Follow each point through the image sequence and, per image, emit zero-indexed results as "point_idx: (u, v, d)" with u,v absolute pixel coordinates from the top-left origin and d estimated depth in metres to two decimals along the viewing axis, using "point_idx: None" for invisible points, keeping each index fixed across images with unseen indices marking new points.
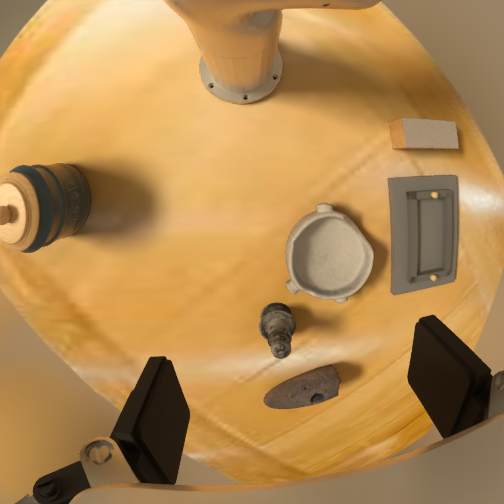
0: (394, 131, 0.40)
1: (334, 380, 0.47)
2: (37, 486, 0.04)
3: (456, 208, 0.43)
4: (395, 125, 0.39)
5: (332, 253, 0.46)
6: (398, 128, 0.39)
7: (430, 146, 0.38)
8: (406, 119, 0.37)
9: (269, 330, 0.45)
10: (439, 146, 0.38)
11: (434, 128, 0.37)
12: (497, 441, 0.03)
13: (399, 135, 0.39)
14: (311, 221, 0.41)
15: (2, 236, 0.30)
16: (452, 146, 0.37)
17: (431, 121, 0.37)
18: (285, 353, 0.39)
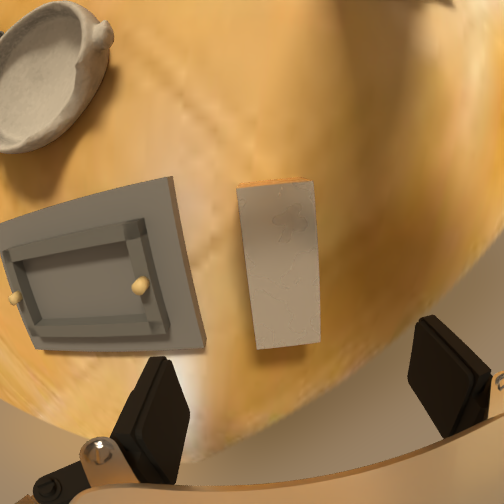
0: (277, 180, 0.20)
1: None
2: (37, 486, 0.04)
3: (139, 347, 0.24)
4: (293, 179, 0.19)
5: (41, 86, 0.18)
6: (285, 181, 0.19)
7: (248, 265, 0.18)
8: (311, 193, 0.17)
9: None
10: (252, 293, 0.19)
11: (296, 280, 0.19)
12: (497, 441, 0.03)
13: (268, 182, 0.19)
14: (78, 12, 0.13)
15: None
16: (258, 332, 0.20)
17: (314, 271, 0.19)
18: None
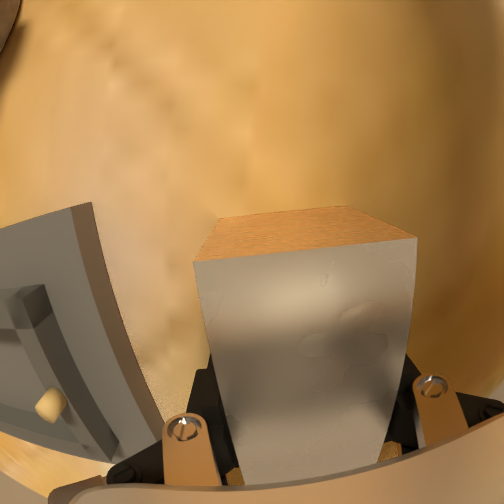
0: (305, 218, 0.09)
1: None
2: (113, 475, 0.05)
3: None
4: (343, 219, 0.08)
5: None
6: (331, 227, 0.07)
7: (236, 431, 0.07)
8: (408, 273, 0.06)
9: None
10: (246, 466, 0.07)
11: (341, 444, 0.07)
12: (497, 441, 0.03)
13: (286, 231, 0.07)
14: None
15: None
16: None
17: (379, 428, 0.07)
18: None
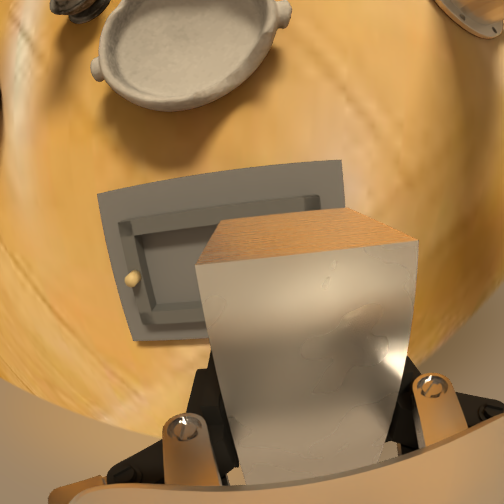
0: (306, 221, 0.09)
1: None
2: (114, 475, 0.05)
3: None
4: (344, 221, 0.08)
5: (187, 46, 0.19)
6: (333, 229, 0.07)
7: (237, 433, 0.07)
8: (409, 276, 0.06)
9: None
10: (247, 467, 0.07)
11: (342, 446, 0.07)
12: (497, 441, 0.03)
13: (288, 234, 0.07)
14: None
15: None
16: None
17: (380, 429, 0.07)
18: None
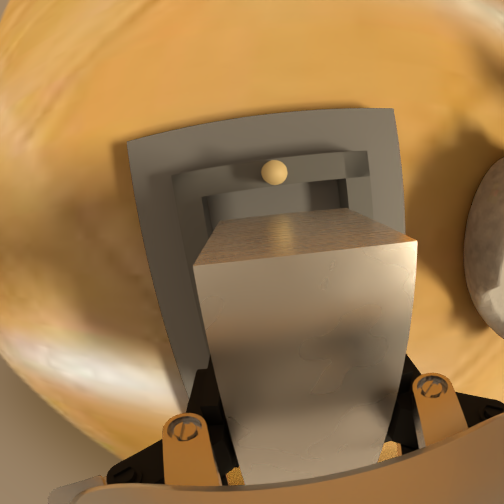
0: (305, 221, 0.09)
1: None
2: (114, 475, 0.05)
3: (187, 376, 0.17)
4: (343, 221, 0.08)
5: None
6: (331, 230, 0.07)
7: (236, 433, 0.07)
8: (407, 276, 0.06)
9: None
10: (246, 468, 0.07)
11: (340, 446, 0.07)
12: (497, 441, 0.03)
13: (286, 235, 0.07)
14: None
15: None
16: None
17: (379, 430, 0.07)
18: None
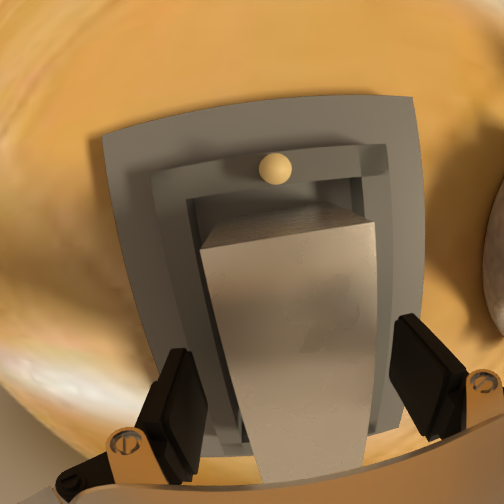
0: (289, 214, 0.10)
1: None
2: (61, 480, 0.05)
3: None
4: (320, 212, 0.10)
5: None
6: (308, 219, 0.09)
7: (240, 393, 0.09)
8: (369, 251, 0.07)
9: None
10: (251, 429, 0.09)
11: (332, 406, 0.09)
12: (497, 441, 0.03)
13: (272, 224, 0.09)
14: None
15: None
16: (265, 469, 0.10)
17: (364, 390, 0.09)
18: None
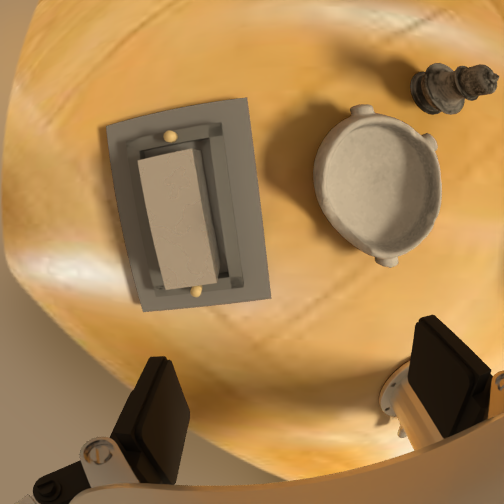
0: None
1: None
2: (37, 486, 0.04)
3: (133, 261, 0.29)
4: None
5: (367, 182, 0.28)
6: None
7: (150, 218, 0.23)
8: (191, 158, 0.22)
9: None
10: (155, 240, 0.23)
11: (187, 227, 0.23)
12: (497, 441, 0.03)
13: None
14: (414, 246, 0.26)
15: None
16: (164, 273, 0.24)
17: (200, 220, 0.23)
18: (488, 75, 0.15)
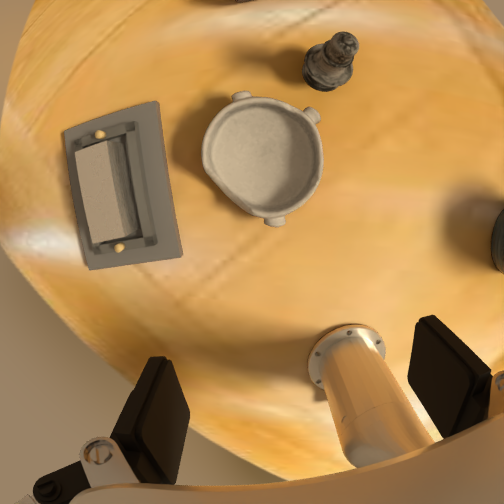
0: None
1: None
2: (37, 486, 0.04)
3: (81, 229, 0.36)
4: None
5: (255, 155, 0.34)
6: None
7: (82, 191, 0.30)
8: (105, 147, 0.28)
9: None
10: (85, 207, 0.30)
11: (104, 196, 0.30)
12: (497, 441, 0.03)
13: None
14: (296, 206, 0.32)
15: None
16: (91, 231, 0.31)
17: (112, 190, 0.30)
18: (342, 39, 0.21)
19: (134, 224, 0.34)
